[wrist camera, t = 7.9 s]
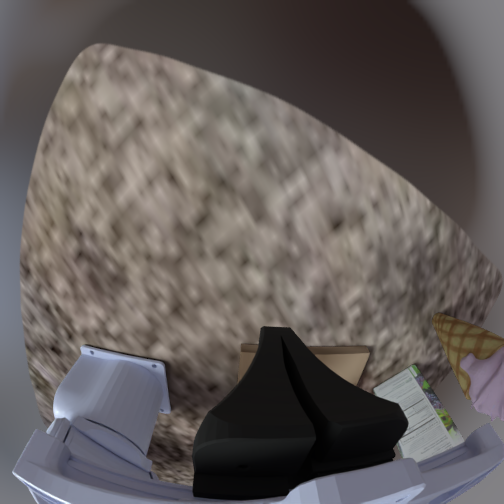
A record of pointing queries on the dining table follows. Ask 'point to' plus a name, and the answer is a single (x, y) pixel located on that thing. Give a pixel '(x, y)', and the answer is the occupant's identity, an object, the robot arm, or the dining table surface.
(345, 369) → the frame
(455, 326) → the ice cream cone
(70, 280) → the dining table surface
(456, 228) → the dining table surface
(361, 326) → the dining table surface
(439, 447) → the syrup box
